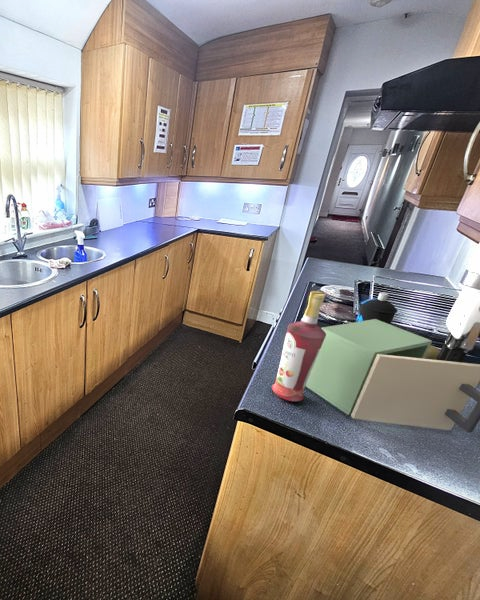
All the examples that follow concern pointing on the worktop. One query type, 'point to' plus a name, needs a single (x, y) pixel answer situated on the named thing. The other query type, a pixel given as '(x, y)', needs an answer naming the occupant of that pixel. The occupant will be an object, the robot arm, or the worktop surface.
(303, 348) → the liquor
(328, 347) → the cupboard
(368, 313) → the aerosol can
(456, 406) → the door
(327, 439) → the worktop surface
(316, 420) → the worktop surface
